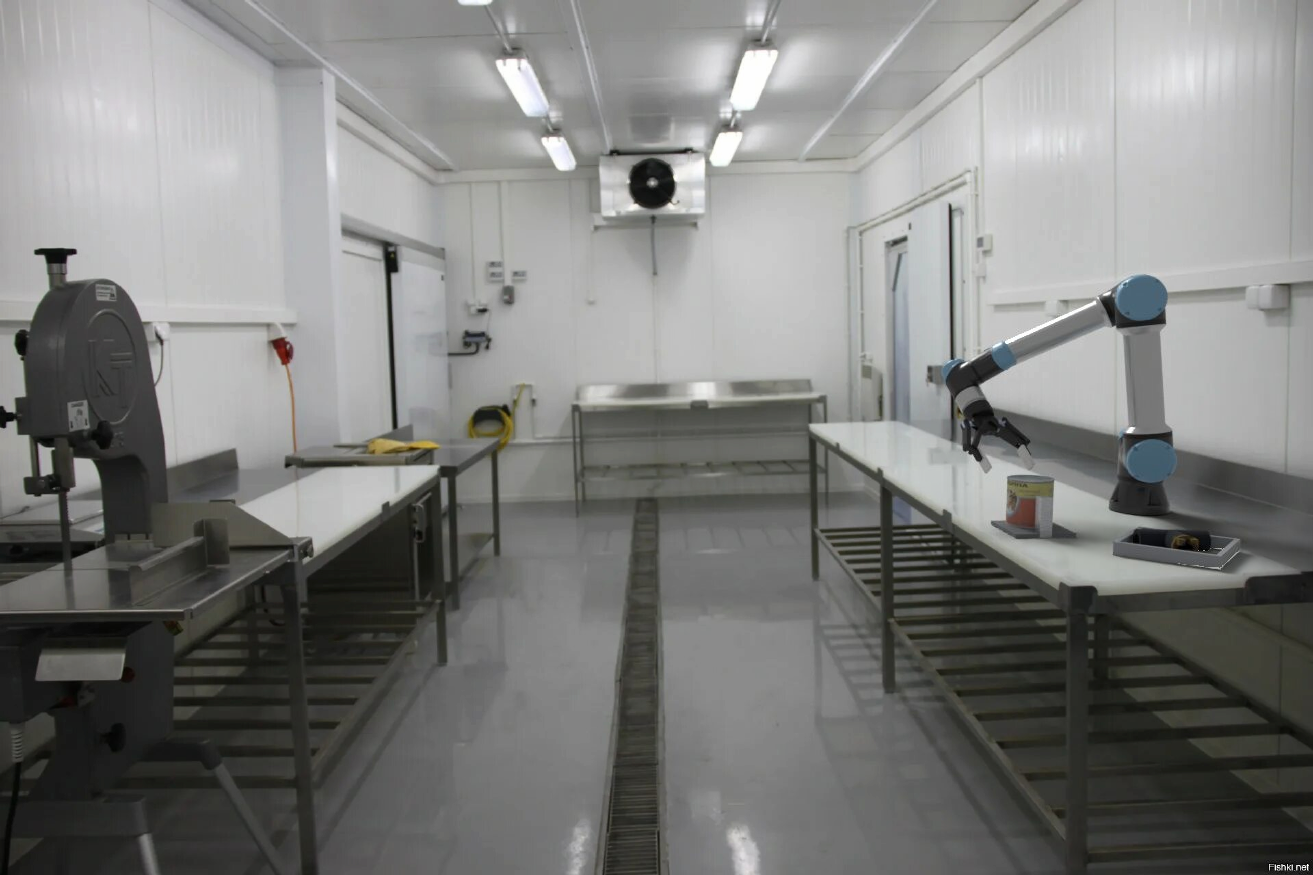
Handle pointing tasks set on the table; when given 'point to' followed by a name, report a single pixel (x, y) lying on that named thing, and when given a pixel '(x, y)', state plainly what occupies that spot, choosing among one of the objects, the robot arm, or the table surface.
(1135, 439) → the robot arm
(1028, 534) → the rubber mat
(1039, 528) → the block
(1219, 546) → the parts corral
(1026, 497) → the canned food
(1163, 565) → the table surface
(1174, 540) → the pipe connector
